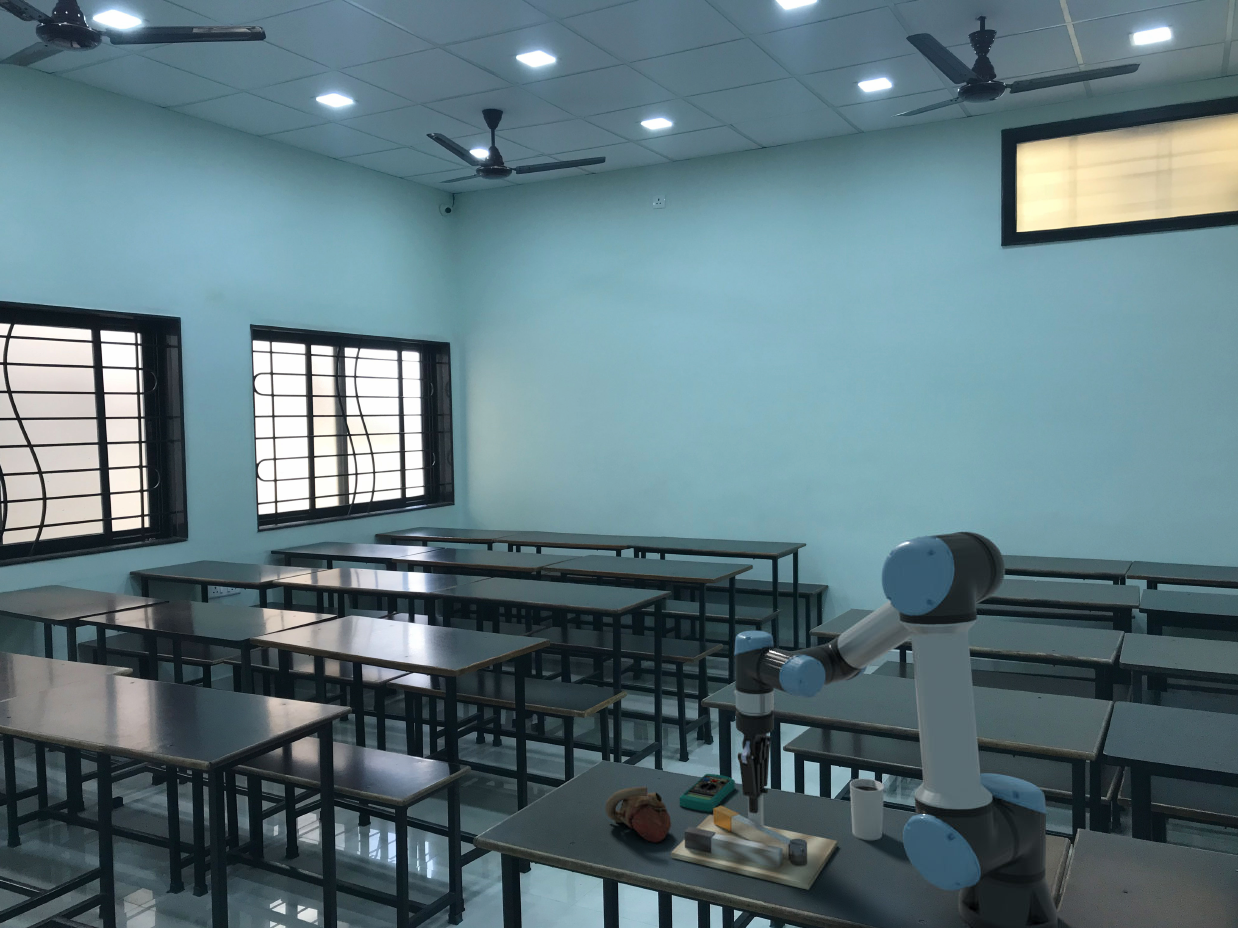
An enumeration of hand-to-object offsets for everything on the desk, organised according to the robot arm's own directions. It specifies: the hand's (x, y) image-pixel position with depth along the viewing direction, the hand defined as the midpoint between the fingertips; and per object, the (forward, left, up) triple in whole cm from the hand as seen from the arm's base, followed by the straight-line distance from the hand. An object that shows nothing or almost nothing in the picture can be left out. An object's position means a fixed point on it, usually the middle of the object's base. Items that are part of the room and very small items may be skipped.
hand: (755, 825), depth 179 cm
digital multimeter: (+17, -15, -3) cm, 23 cm away
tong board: (-2, +5, -3) cm, 6 cm away
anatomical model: (+23, +7, -3) cm, 24 cm away
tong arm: (-2, +3, -2) cm, 4 cm away
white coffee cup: (-19, -12, -3) cm, 23 cm away
